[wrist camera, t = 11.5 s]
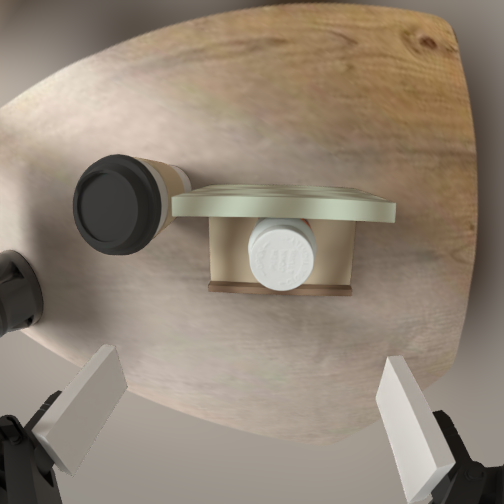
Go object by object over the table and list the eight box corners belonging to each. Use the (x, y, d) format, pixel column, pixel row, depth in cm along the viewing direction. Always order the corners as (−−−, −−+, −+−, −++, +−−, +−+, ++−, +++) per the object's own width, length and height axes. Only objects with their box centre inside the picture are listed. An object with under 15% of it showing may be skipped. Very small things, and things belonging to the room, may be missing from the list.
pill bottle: (318, 218, 33) (336, 244, 23) (293, 264, 35) (298, 309, 24) (269, 193, 33) (264, 207, 22) (246, 241, 35) (230, 276, 24)
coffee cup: (213, 204, 36) (170, 231, 22) (156, 239, 38) (94, 280, 24) (177, 142, 34) (115, 131, 20) (123, 181, 36) (47, 194, 22)
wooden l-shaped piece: (214, 280, 39) (182, 338, 25) (211, 184, 35) (171, 196, 22) (345, 284, 37) (374, 344, 24) (353, 188, 34) (396, 203, 20)
